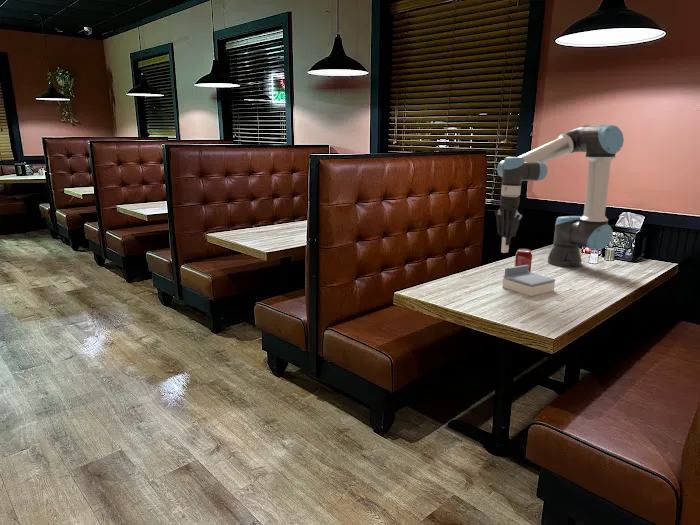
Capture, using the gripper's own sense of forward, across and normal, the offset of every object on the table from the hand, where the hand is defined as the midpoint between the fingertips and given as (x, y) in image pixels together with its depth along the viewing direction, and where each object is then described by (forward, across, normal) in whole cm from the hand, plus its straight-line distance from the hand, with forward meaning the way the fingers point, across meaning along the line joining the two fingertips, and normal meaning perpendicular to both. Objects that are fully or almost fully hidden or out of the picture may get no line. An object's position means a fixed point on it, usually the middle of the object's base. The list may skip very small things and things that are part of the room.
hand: (504, 252), depth 209 cm
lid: (+9, +13, 0) cm, 16 cm away
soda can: (+13, 0, +12) cm, 18 cm away
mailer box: (+13, +13, 0) cm, 18 cm away
